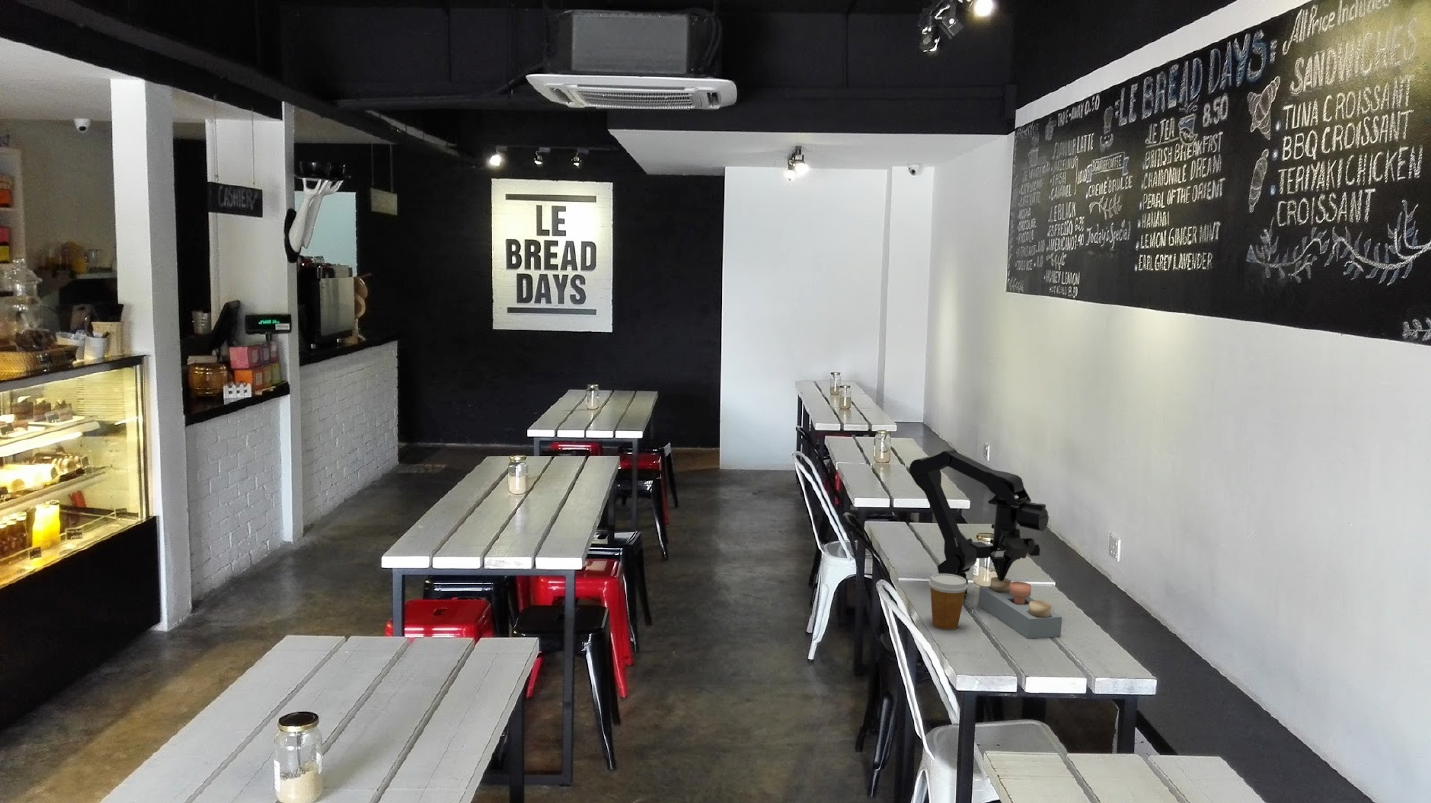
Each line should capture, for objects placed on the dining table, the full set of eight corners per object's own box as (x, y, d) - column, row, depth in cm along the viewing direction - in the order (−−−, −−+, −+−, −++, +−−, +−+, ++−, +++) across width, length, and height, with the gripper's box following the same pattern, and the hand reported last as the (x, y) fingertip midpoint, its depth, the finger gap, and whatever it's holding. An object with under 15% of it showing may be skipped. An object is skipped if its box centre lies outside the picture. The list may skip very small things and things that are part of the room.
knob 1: (995, 611, 266) (997, 583, 265) (985, 604, 271) (987, 577, 270) (1012, 610, 267) (1015, 582, 266) (1002, 603, 272) (1004, 576, 271)
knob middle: (1014, 616, 257) (1017, 588, 256) (1003, 609, 262) (1006, 581, 261) (1032, 615, 258) (1035, 587, 257) (1021, 608, 263) (1024, 580, 262)
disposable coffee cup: (939, 615, 261) (942, 570, 260) (972, 626, 255) (975, 580, 253) (918, 624, 255) (921, 577, 253) (951, 635, 248) (954, 587, 246)
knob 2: (1034, 637, 248) (1037, 608, 247) (1022, 629, 253) (1025, 601, 252) (1053, 635, 250) (1055, 607, 249) (1041, 628, 255) (1043, 599, 254)
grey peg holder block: (1028, 638, 248) (1029, 619, 247) (978, 604, 271) (979, 586, 270) (1060, 636, 250) (1062, 616, 249) (1008, 603, 273) (1009, 585, 272)
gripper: (989, 532, 255) (984, 592, 258) (1055, 530, 260) (1049, 588, 263) (967, 520, 266) (963, 578, 268) (1030, 518, 271) (1025, 575, 273)
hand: (1000, 580), depth 268 cm, fingers closed, pressing on knob 1
